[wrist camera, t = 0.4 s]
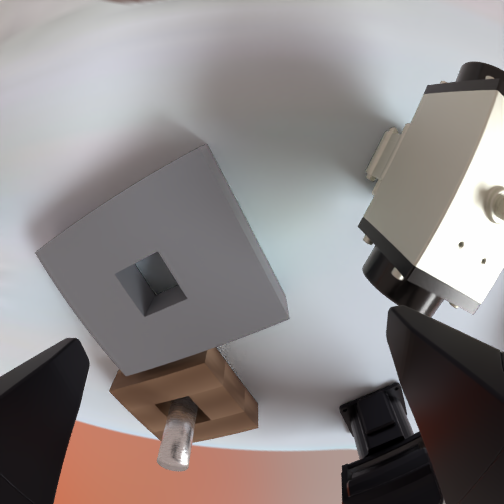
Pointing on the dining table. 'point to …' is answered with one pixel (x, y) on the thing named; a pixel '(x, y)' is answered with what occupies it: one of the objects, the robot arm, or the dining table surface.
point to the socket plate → (178, 262)
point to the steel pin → (178, 435)
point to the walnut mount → (190, 395)
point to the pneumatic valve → (441, 197)
